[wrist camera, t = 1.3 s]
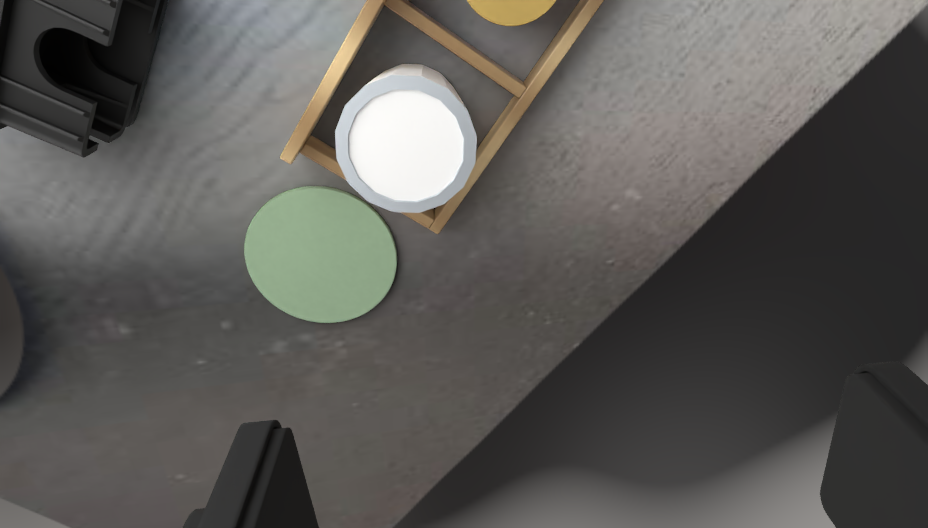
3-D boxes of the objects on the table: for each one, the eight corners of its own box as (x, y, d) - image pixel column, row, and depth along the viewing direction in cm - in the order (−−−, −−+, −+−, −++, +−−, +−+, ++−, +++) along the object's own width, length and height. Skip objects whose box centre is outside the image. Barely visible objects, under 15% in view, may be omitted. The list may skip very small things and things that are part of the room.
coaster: (288, 156, 37) (287, 158, 37) (425, 236, 40) (425, 239, 39) (221, 276, 41) (218, 278, 40) (351, 342, 43) (350, 345, 43)
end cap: (35, -108, 31) (-64, -120, 25) (178, -35, 32) (118, -31, 26) (2, 79, 35) (-91, 107, 29) (131, 135, 36) (70, 173, 30)
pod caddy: (481, -197, 30) (486, -216, 26) (640, -64, 33) (664, -65, 29) (294, 137, 37) (278, 158, 33) (438, 223, 39) (437, 251, 36)
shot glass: (484, 68, 35) (494, 94, 29) (456, 181, 38) (458, 227, 32) (363, 37, 34) (346, 58, 28) (344, 156, 37) (324, 198, 31)
